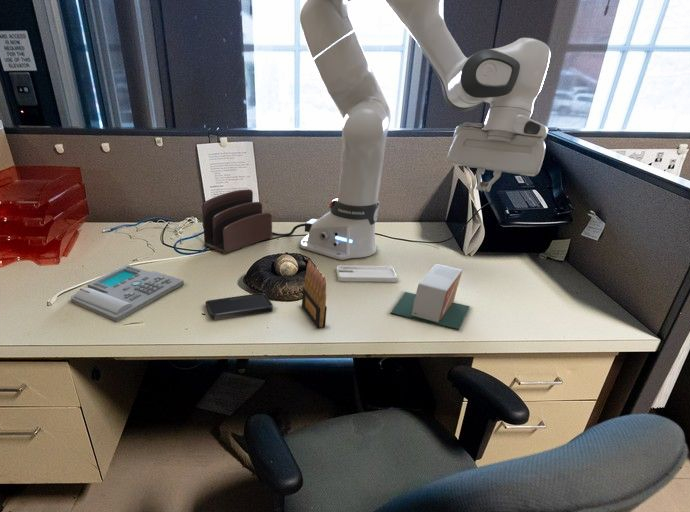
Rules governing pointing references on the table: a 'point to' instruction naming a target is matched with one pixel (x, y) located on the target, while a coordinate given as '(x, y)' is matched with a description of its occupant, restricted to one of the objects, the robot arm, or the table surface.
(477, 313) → the table surface
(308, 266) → the ammunition clip
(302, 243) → the robot arm
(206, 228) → the letter holder
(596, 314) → the table surface
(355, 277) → the phone case
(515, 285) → the table surface
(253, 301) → the phone
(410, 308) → the mat
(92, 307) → the office telephone
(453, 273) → the small box
